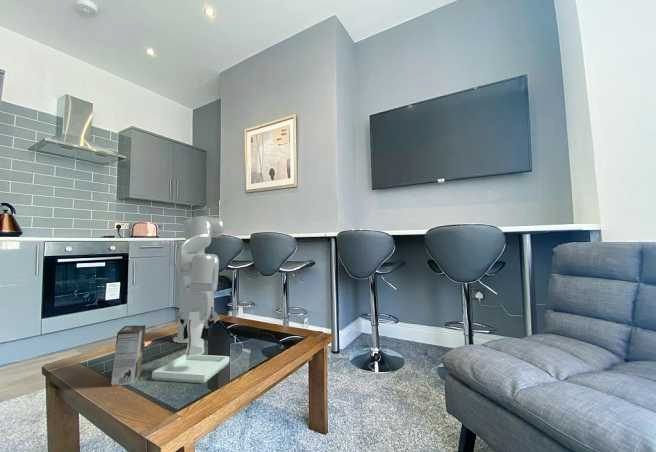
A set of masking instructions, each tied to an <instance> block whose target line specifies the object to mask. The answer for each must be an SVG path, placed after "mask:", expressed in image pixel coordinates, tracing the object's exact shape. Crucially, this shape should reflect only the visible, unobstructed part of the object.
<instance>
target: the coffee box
mask: <svg viewBox="0 0 656 452" xmlns="http://www.w3.org/2000/svg"><path fill="white" fill-rule="evenodd" d="M146 327H147V326H146V325H125V326H123V327H122V328H121V329H120V330H119V331H118V332H117V333H116V341H115V348H114V358H113V364H112V365H113V366H112V371H111V372H112V374H111V382H110V385H111V384H119V386H124V385H125V386H126V385H134V384H135V383H136V381H137V380H138V378H139V377H140V375H141V373H142V366H143V365H142V364H143V354H144V346H145V345H144V344H145V335H146V334H145V333H146Z"/></svg>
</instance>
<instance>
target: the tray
mask: <svg viewBox="0 0 656 452" xmlns="http://www.w3.org/2000/svg"><path fill="white" fill-rule="evenodd" d="M229 364H230V356H227V355H212V354H211V355H208V354H201V355H197V356H187V355H186V353H185V354H183V355H181V356H179V357H178V358H177V357H176V358H175V359H173V360H172V361H170V362H167V363H165V364H164V365H162V366H160V367H159V368H156V369H155V370H152V371H151V372H152V373H151V381H163V382H178V383H193V384H194V383H195V384H206V383H207V382H208V381H209V380H211V378H213V377H214V376H215V375H216V374H217V373H219V372H220V371H221V370H223V369H224V368H225V367H226V366H228V365H229Z"/></svg>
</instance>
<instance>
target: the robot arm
mask: <svg viewBox="0 0 656 452" xmlns="http://www.w3.org/2000/svg"><path fill="white" fill-rule="evenodd" d="M224 230H225V224H224V221H223V220H222V219H221V218H219V217H211V216H203V215H199V216H195V217H193V218H188V219H186V220H184V221H183V223H182V232H183V235H184V239H185V241H183V242H182V243H181V244H180V245H179V247H178V249H177V253H176V263H175V265H176V266H175V267H176V270H177V272H179V273H181V274H186V275H184V276H183V277H181V278H180V281H179V290H180V291H179V292H180V297H179V298H180V299H179V300H180V301H179V312H178V314H177V315H176V317H177V320H178V321H177V323H178V324H177V332H176V333H177V334H176V336H177V337H176V336H174V337H173V338H172V342H174V343H176V342H177V344H188V336H187V320H188V318H189V314H190V311H193V312H199V319H200V321H205V322H204V325H205V328H204V329H203V340H204V341H206V340H208V339H210V337H211V328H212V326H214V325H215V323H216V322H217V321H218V320H219V319H220V317H221V316H220V315H219V314H218V313H217V312H216V311H215V299H214V298H215V297H214V294H215V293H216V291H217V289H218V283H219V270H220V269H219V268H220V259H219V257H218V255H217V254H214V253H206V251H205V250H206V248H208V247H209V246H210V244H212V243H211V242H212V238H218V237H220V236H222V235H223V233H224ZM187 274H188V275H187ZM207 320H208V321H207Z"/></svg>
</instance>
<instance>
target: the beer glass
mask: <svg viewBox="0 0 656 452" xmlns="http://www.w3.org/2000/svg"><path fill="white" fill-rule="evenodd" d="M207 321H208V320H207ZM204 322H205V321H200V319H199V312H193V311H190V314H189V318H188V320H187V336H188V343H187V346H186V347H187V348H186V351H185V354H186V355H187V356H197V355H204V354H205V340H203V329H204V328H205V325H204Z"/></svg>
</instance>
